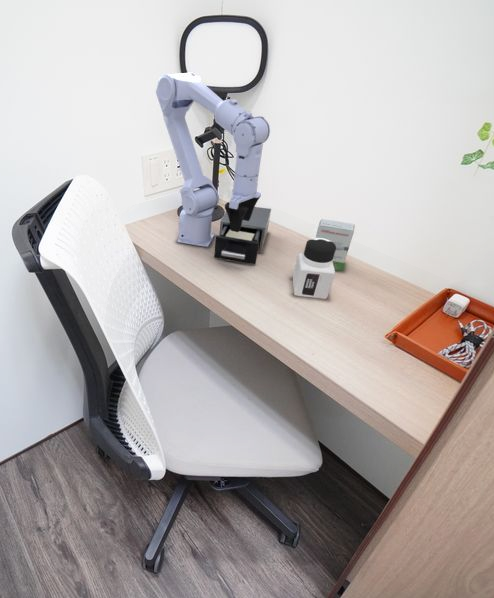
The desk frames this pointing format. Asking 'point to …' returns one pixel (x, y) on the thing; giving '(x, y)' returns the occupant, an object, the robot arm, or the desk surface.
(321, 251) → the container
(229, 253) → the drawer
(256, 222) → the small drawer cabinet
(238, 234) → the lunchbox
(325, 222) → the ink box
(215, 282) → the desk surface
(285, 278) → the desk surface
